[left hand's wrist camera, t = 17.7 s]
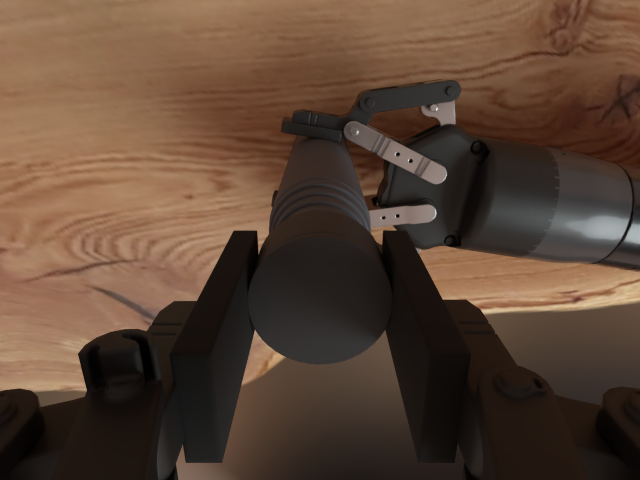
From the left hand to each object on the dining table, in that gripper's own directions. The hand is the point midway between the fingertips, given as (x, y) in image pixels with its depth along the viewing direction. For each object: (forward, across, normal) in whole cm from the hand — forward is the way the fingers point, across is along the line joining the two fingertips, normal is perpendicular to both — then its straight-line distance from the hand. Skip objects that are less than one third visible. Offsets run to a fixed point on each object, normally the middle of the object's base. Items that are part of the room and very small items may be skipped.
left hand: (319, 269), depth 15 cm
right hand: (+15, -3, 0) cm, 15 cm away
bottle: (+22, 0, 0) cm, 22 cm away
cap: (-2, 0, 0) cm, 2 cm away
